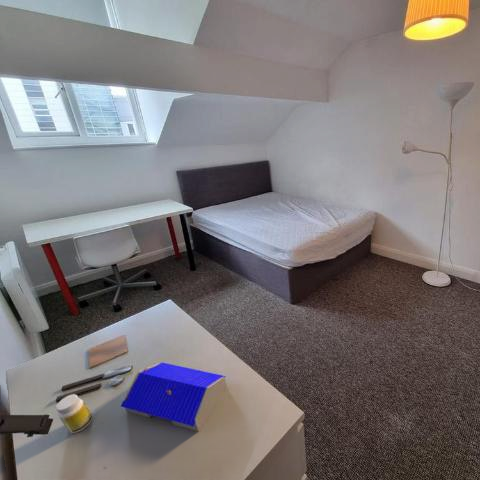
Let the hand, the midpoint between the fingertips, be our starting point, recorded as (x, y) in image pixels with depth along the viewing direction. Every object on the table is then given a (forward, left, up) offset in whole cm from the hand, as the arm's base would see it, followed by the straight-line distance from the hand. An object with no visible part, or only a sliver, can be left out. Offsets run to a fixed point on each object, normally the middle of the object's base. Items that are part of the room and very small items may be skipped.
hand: (8, 431), depth 56 cm
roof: (+5, +29, -12) cm, 32 cm away
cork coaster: (-29, +15, -11) cm, 35 cm away
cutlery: (-16, +12, -11) cm, 23 cm away
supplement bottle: (-4, +8, -12) cm, 15 cm away
